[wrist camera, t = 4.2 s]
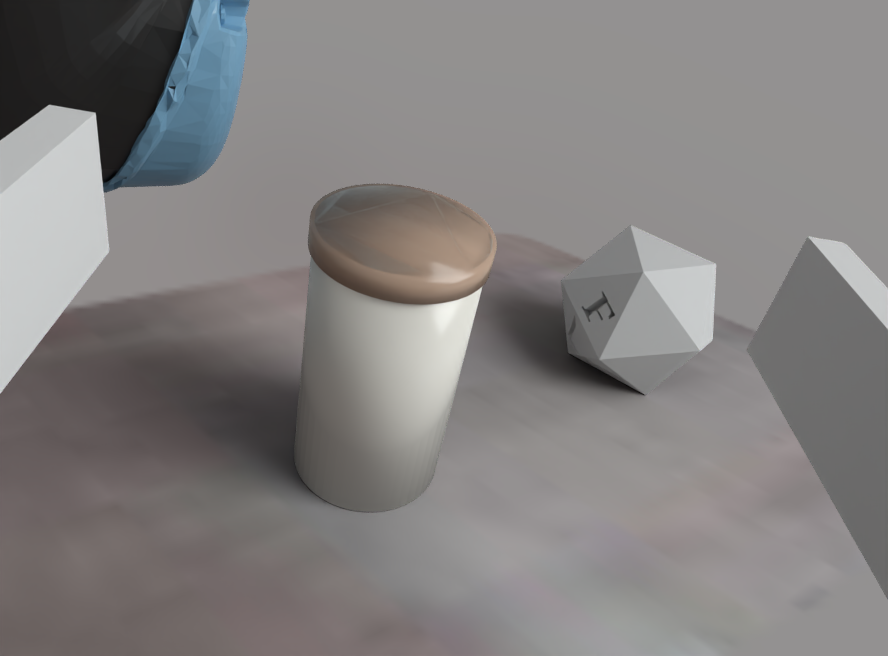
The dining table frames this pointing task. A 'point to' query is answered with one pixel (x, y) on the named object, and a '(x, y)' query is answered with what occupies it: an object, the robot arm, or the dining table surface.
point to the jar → (384, 339)
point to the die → (639, 308)
